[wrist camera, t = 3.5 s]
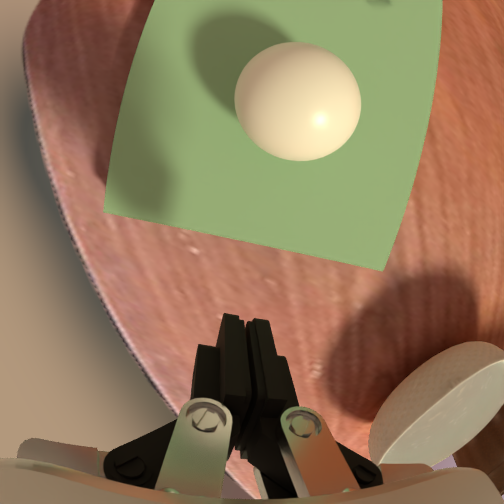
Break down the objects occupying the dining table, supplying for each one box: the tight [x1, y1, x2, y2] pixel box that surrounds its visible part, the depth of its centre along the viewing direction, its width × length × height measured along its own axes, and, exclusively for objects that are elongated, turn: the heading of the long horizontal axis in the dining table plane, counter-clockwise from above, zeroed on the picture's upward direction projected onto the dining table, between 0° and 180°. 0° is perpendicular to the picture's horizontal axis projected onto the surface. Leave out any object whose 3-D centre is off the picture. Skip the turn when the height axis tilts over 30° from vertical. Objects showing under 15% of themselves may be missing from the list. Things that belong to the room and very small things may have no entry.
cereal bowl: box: [368, 341, 504, 467], centre depth 21 cm, size 17×17×7 cm
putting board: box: [103, 0, 442, 271], centre depth 12 cm, size 24×16×2 cm, turn 166°
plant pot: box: [452, 404, 504, 496], centre depth 23 cm, size 16×16×16 cm
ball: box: [234, 42, 361, 161], centre depth 10 cm, size 5×5×5 cm
